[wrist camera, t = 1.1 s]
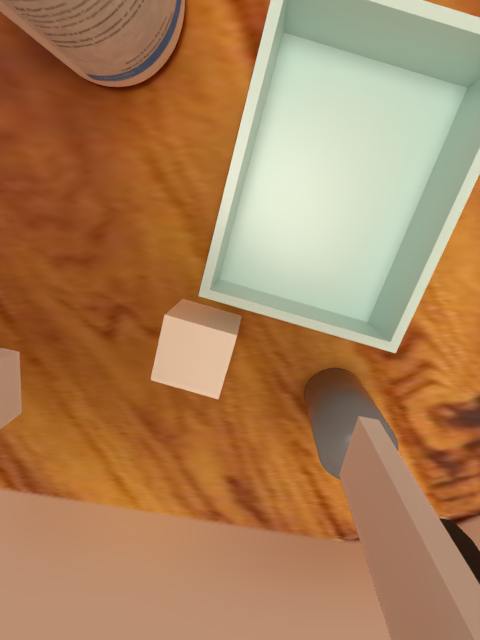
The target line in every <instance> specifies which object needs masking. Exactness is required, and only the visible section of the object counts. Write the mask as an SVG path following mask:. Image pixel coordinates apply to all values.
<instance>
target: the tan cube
mask: <svg viewBox="0 0 480 640" xmlns="http://www.w3.org/2000/svg"><path fill="white" fill-rule="evenodd" d="M241 317H242V316H241V315H237V314H234V313H230V312H227V311H223V310H220V309H217V308H213V307H210V306H206V305H203V304H199V303H196V302H192V301H189V300H186V299H182V300H181V301H180V302H178V303H177V304H176V305H175V306H174V307H173V308H172V309H170V310H169V311H168V312H167V313H166V314H165V315H164V319H163V324H162V329H161V333H160V338H159V342H158V347H157V352H156V356H155V361H154V366H153V370H152V375H151V380H152V381H156V382H159V383H163V384H166V385H170V386H173V387H177V388H180V389H184V390H187V391H191V392H194V393H198V394H201V395H205V396H208V397H212V398H215V399H219V396H220V392H221V389H222V386H223V382H224V379H225V376H226V372H227V369H228V365H229V362H230V359H231V355H232V352H233V348H234V345H235V342H236V338H237V335H238V330H239V326H240V322H241Z"/></svg>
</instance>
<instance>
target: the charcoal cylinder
mask: <svg viewBox="0 0 480 640" xmlns="http://www.w3.org/2000/svg"><path fill="white" fill-rule="evenodd" d="M304 398H305V403H306V407H307V411H308V415H309V419H310V423H311V427H312V431H313V435H314V439H315V443H316V447H317V451H318V455H319V459H320V462H321V464H322V465H323V467H324V468H325V469H326V471H327V472H329V473H330V474H331V475H333V476H334V477H336V478H338V479H340V476H339V473H340V470H341V467H342V464H343V461H344V458H345V455H346V452H347V449H348V446H349V443H350V440H351V437H352V434H353V431H354V428H355V425H356V422H357V419H358V416H361V417H366V418H372V419H377V420H379V421H380V423H381V424H382V426H383V428H384V429H385V431H386V433H387V434H388V436H389V437H390V439H391V441H392V442H393V444H394V446H395V447H396V449H397V450H398V442H397V439H396V436H395V434H394V433H393V431H392V430H391V428H390V426H389V425H388V423H387V422H386V420H385V419H384V417H383V416H382V414H381V413H380V411H379V409H378V408H377V406H376V405H375V403H374V402H373V400H372V399H371V397H370V395H369V394H368V392H367V391H366V389H365V388H364V386H363V385H362V383H361V382H360V380H359V379H358V378H357V376H355V375H354V374H353V373H351V372H349V371H347V370H345V369H340V368H331V369H326V370H323V371H321V372H319V373H317V374H316V375H314V376H313V377H312V378H311V379H310V380H309V382H308V383H307V385H306V388H305V392H304Z"/></svg>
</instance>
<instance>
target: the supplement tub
mask: <svg viewBox="0 0 480 640" xmlns="http://www.w3.org/2000/svg"><path fill="white" fill-rule="evenodd" d="M184 11H185V0H0V12H2V13H3V14H4V15H5V16H6V17H8V18H9V19H10V20H11V21H13V22H14V23H15V24H16V25H18V26H19V27H20V28H21V29H22V30H24V31H25V32H26V33H27V34H29V35H30V36H31V37H32V38H33V39H35V40H36V41H37V42H38V43H40V44H41V45H42V46H43V47H45V48H46V49H47V50H48V51H49V52H51V53H52V54H53V55H54V56H56V57H57V58H58V59H59V60H60V61H62V62H63V63H64V64H66V65H67V66H68V67H69V68H70V69H72V70H73V71H74V72H76V73H77V74H78V75H80V76H81V77H83V78H85V79H87V80H89V81H91V82H93V83H96V84H99V85H103V86H109V87H125V86H131V85H135V84H138V83H141V82H143V81H145V80H146V79H148V78H150V77H151V76H152V75H154V74H155V73H156V72H157V71H158V70H159V69H160V68H161V67H162V66H163V65H164V64H165V63H166V61H167V60H168V58H169V57H170V55H171V54H172V52H173V50H174V48H175V46H176V44H177V41H178V39H179V35H180V32H181V29H182V24H183V19H184Z"/></svg>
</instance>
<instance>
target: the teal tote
mask: <svg viewBox="0 0 480 640" xmlns="http://www.w3.org/2000/svg"><path fill="white" fill-rule="evenodd" d="M479 174H480V18H479V17H476V16H473V15H469V14H466V13H463V12H459V11H456V10H453V9H450V8H446V7H443V6H440V5H437V4H433V3H430V2H427V1H423V0H271V2H270V6H269V10H268V14H267V18H266V22H265V26H264V30H263V35H262V39H261V43H260V47H259V51H258V55H257V59H256V63H255V67H254V71H253V75H252V79H251V83H250V88H249V92H248V96H247V100H246V104H245V108H244V112H243V116H242V120H241V124H240V128H239V132H238V136H237V141H236V145H235V149H234V153H233V157H232V161H231V165H230V169H229V173H228V177H227V181H226V185H225V190H224V194H223V198H222V202H221V206H220V210H219V214H218V218H217V222H216V226H215V230H214V234H213V238H212V243H211V247H210V251H209V255H208V259H207V263H206V267H205V271H204V275H203V279H202V283H201V287H200V292H199V296H200V297H203V298H207V299H210V300H214V301H217V302H220V303H224V304H227V305H231V306H234V307H238V308H241V309H245V310H248V311H252V312H255V313H258V314H262V315H265V316H269V317H272V318H276V319H279V320H283V321H286V322H289V323H293V324H296V325H300V326H303V327H307V328H310V329H314V330H317V331H320V332H324V333H327V334H331V335H334V336H338V337H341V338H345V339H348V340H352V341H355V342H358V343H362V344H365V345H369V346H372V347H376V348H379V349H383V350H386V351H389V352H393V353H396V351H397V349H398V347H399V345H400V343H401V340H402V338H403V336H404V334H405V332H406V330H407V328H408V325H409V323H410V321H411V319H412V317H413V315H414V313H415V311H416V308H417V306H418V304H419V302H420V300H421V298H422V296H423V293H424V291H425V289H426V287H427V285H428V283H429V281H430V279H431V276H432V274H433V272H434V270H435V268H436V266H437V264H438V261H439V259H440V257H441V255H442V253H443V251H444V249H445V246H446V244H447V242H448V240H449V238H450V236H451V234H452V232H453V229H454V227H455V225H456V223H457V221H458V219H459V217H460V214H461V212H462V210H463V208H464V206H465V204H466V202H467V200H468V197H469V195H470V193H471V191H472V189H473V187H474V185H475V182H476V180H477V178H478V176H479Z"/></svg>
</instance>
